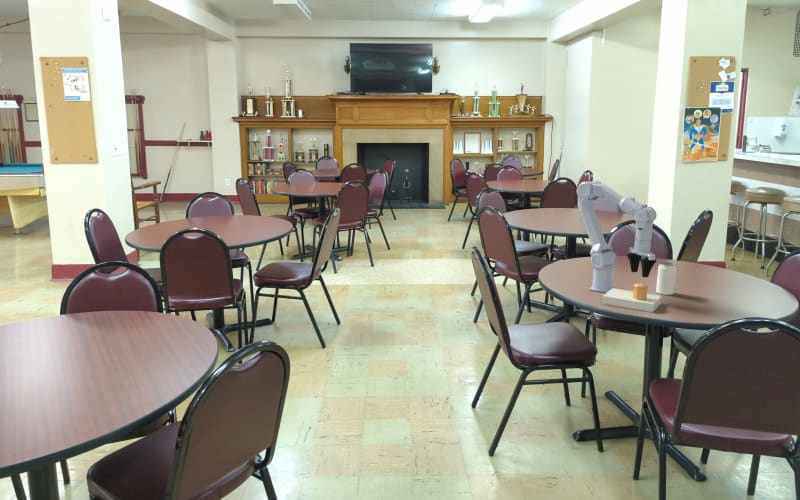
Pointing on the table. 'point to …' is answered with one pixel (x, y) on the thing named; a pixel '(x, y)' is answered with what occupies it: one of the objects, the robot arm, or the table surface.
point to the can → (666, 278)
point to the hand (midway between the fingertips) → (639, 274)
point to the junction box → (631, 300)
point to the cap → (640, 291)
